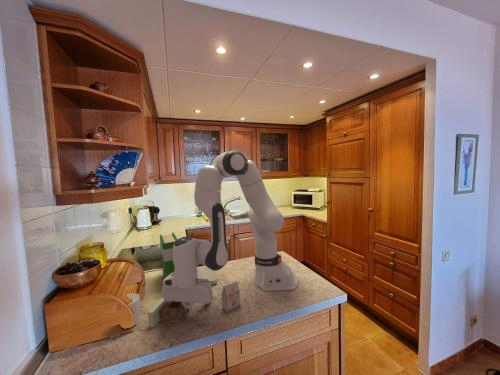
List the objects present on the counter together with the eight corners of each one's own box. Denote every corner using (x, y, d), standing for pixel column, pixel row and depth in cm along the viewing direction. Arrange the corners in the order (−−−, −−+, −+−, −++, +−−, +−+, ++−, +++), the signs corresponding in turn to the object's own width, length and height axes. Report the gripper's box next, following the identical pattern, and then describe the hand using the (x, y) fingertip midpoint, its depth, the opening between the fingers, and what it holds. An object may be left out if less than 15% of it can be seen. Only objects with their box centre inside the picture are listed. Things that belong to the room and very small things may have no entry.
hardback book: (163, 276, 123) (159, 234, 121) (176, 272, 126) (173, 232, 124) (166, 291, 107) (162, 243, 105) (182, 286, 110) (178, 240, 108)
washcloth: (195, 291, 107) (194, 285, 106) (191, 275, 123) (191, 269, 123) (219, 285, 111) (218, 279, 111) (212, 270, 128) (212, 265, 127)
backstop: (176, 301, 98) (175, 289, 97) (153, 327, 82) (152, 312, 81) (172, 301, 98) (170, 288, 97) (149, 327, 82) (147, 312, 82)
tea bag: (222, 307, 92) (221, 285, 91) (235, 301, 96) (234, 279, 95) (226, 311, 89) (225, 288, 88) (240, 305, 93) (239, 283, 92)
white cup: (127, 316, 89) (125, 293, 88) (145, 316, 89) (143, 293, 88) (113, 330, 82) (111, 305, 81) (133, 331, 81) (130, 305, 80)
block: (191, 308, 92) (190, 298, 92) (180, 323, 84) (179, 312, 83) (171, 306, 94) (171, 296, 94) (159, 321, 85) (158, 310, 85)
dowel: (211, 302, 96) (210, 285, 95) (209, 306, 93) (207, 288, 92) (205, 302, 96) (204, 285, 96) (203, 306, 94) (201, 288, 93)
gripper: (213, 275, 87) (215, 307, 89) (167, 273, 91) (170, 304, 92) (208, 283, 81) (210, 318, 82) (158, 281, 85) (161, 314, 86)
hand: (188, 311), depth 87 cm, fingers closed
